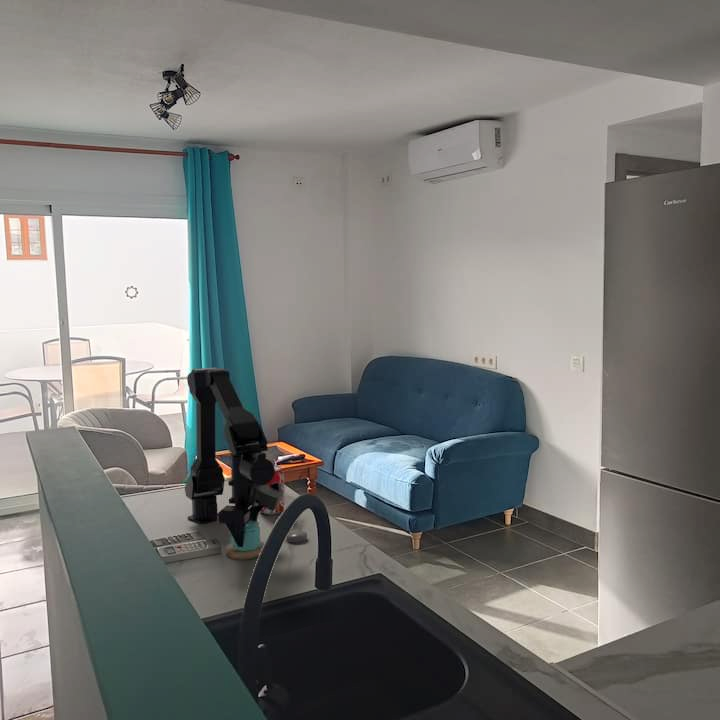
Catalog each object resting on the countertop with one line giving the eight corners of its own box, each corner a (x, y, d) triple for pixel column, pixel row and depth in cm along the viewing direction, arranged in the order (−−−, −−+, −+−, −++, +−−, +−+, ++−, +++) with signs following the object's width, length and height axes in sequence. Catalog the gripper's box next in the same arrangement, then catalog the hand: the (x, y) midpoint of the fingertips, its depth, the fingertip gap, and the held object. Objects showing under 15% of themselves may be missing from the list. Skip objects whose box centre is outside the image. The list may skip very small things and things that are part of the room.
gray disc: (281, 540, 171) (281, 534, 171) (297, 535, 174) (297, 529, 174) (295, 546, 167) (295, 539, 167) (311, 540, 171) (311, 534, 171)
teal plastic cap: (256, 539, 167) (256, 518, 166) (261, 548, 161) (261, 527, 160) (230, 542, 165) (230, 521, 164) (235, 552, 159) (234, 530, 159)
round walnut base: (217, 552, 163) (217, 543, 162) (248, 541, 169) (248, 532, 169) (243, 562, 157) (243, 553, 156) (274, 551, 163) (274, 541, 163)
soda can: (280, 516, 187) (279, 472, 186) (254, 515, 189) (253, 470, 187) (288, 508, 194) (287, 465, 193) (263, 506, 196) (262, 463, 194)
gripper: (265, 488, 150) (266, 559, 152) (290, 465, 169) (291, 529, 170) (215, 485, 153) (217, 556, 154) (245, 463, 171) (247, 526, 172)
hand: (245, 541), depth 163 cm, fingers closed on teal plastic cap, 6 cm apart
